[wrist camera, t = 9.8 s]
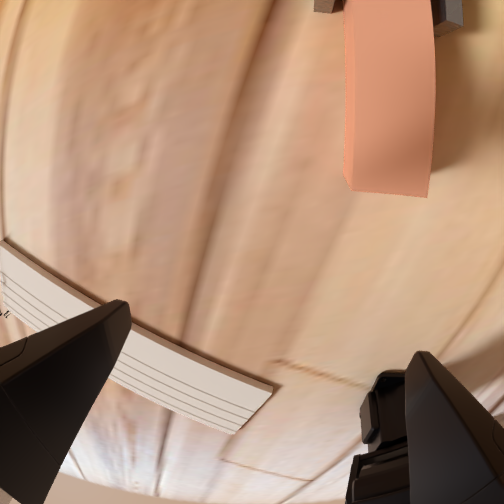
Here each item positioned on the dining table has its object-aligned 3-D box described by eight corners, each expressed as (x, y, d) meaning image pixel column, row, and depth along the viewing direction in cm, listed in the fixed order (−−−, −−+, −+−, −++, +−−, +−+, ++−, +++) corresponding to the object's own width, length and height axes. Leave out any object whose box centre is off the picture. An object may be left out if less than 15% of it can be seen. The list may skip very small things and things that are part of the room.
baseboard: (227, 433, 33) (274, 381, 27) (222, 452, 30) (270, 405, 24) (12, 313, 31) (6, 236, 26) (-1, 326, 28) (-13, 248, 23)
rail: (405, 179, 17) (427, 197, 14) (342, 173, 18) (351, 190, 14) (397, -52, 10) (414, -79, 7) (335, -61, 11) (340, -92, 7)
